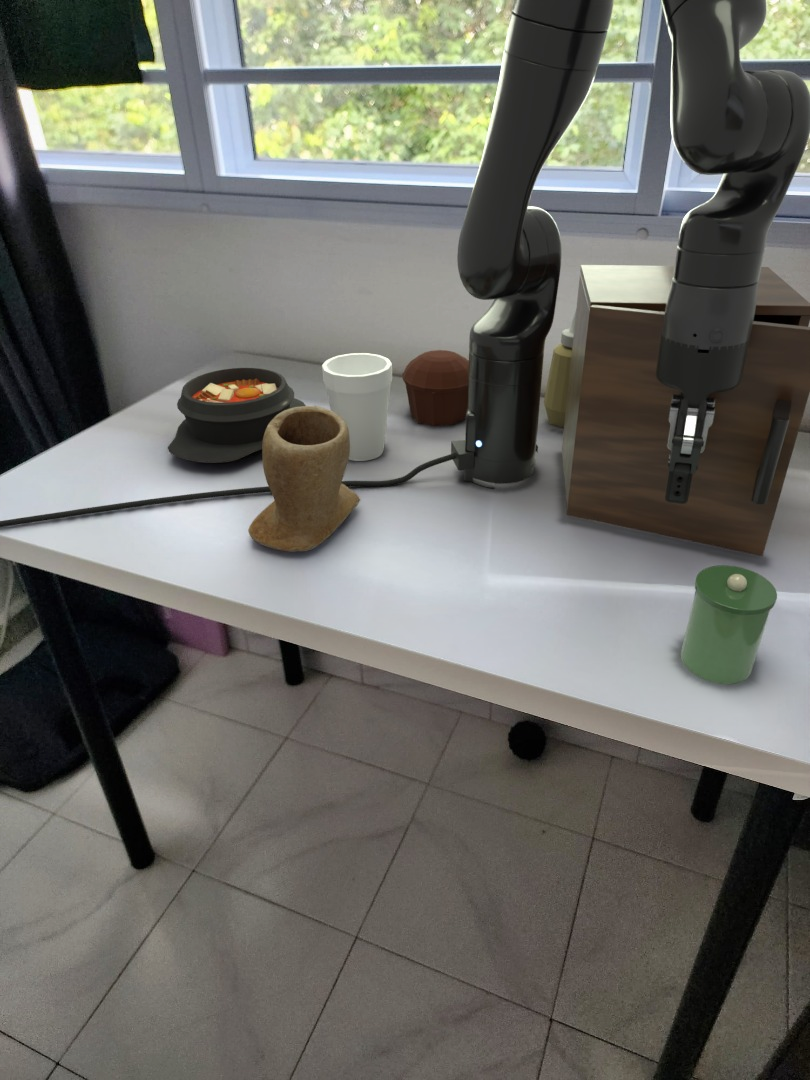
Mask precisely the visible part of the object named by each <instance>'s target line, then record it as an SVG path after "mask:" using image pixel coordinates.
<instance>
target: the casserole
mask: <svg viewBox="0 0 810 1080" xmlns="http://www.w3.org/2000/svg"><path fill="white" fill-rule="evenodd" d="M176 406H177V410H178V411H179V412H180V413H181V414H182V415H183V416H184V418H185V419H184V420H182V422H181V423H180V424H179V425H178V427H177V430H176V433H175V437H174V438H173V439H172V441H171V442H170V444H169V445H168V446H167V451H168V453H169V454H171V455H172V456H174V457H177V458H179V459H182V460H185V461H186V460H187V461H190V462H197V463H206V464H207V463H209V464H210V463H211V464H222V463H231V462H236V461H238V460H240V459H243V458H245V457H247V456H249V455H251V454H253V453H256V452H258V451H262V444H263V437H264V433H265V430H266V428H267V426H268V424H269V423H270V422H271V420H272V419H273V418H274V417H275V416H276V415H278V414H279V413H281V412H283V411H284V410H287V409H290V408H294V407H301V406H307V405H306V404H305V403H304V402H303V401H302V400H300V399H298V398H295V391H294V390H293V388H292V387H290V385H289V384H288V382H287V380H286V378H285V377H284V376H283V375H282V374H280V373H279V372H277V371H273V370H271V369H265V368H259V367H232V368H224V369H218V370H213V371H209V372H206V373H203V374H200V375H197V376H196V377H194V378H191V379H190V380H188V381H187V382H186V383H185V384H184V385H183V386H182V389H181V392H180V397H179V398H178V400H177V402H176Z"/></svg>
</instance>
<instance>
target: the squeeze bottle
mask: <svg viewBox="0 0 810 1080" xmlns="http://www.w3.org/2000/svg"><path fill="white" fill-rule="evenodd" d="M575 317H576V310H575V311H574V315H573V318H572V321H571V324H570V326H569V328H566V329H563V330H562V331H561V337H560V343H559V344H558V345H556V346H555V347H554V349H553V351H552V356H551V362H550V367H549V371H548V377H547V382H546V387H545V392H544V393H545V394H544V397H543V405H544V408H545V412H546V416H547V420H548V424H549V425H554V426H557V427H559V428H564V423H565V413H566V404H567V394H568V385H569V375H570V365H571V356H572V346H573V336H574V327H575Z"/></svg>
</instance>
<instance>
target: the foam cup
mask: <svg viewBox="0 0 810 1080" xmlns="http://www.w3.org/2000/svg"><path fill="white" fill-rule="evenodd" d="M321 369H322V382H323V385H324V387H325V389H326V390H325V391H326V394H327V398H328V403H329V409H330V410H331V411H333V412H335V413H336V414H337V415H339V416H340V417H341V418H342V419H343V420H344V421H345V422H346V424H347V427H348V429H349V437H350V455H349V460H350V461H353V462H354V461H355V462H366V461H371V460H375V459H377V458H379V457H381V456H382V454H383V453H384V452H385V451H384V447H385V444H386V443H385V442H386V433H387V422H388V414H389V403H390V395H391V394H390V393H391V384H392V382H393V363H392V362H391V360H390V358H387V357H385V356H383V355H381V354H377V353H376V354H375V353H368V352H355V353H354V352H351V353H346V354H340V355H336V356H333V357H330V358H328V359H326V360H325V361H324V362H323V364H322V365H321ZM349 460H348V461H349Z"/></svg>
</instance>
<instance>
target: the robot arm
mask: <svg viewBox="0 0 810 1080" xmlns="http://www.w3.org/2000/svg"><path fill="white" fill-rule="evenodd" d="M660 3H661V7H662V10H663V15H664V20H665V24H666V28H667V32H668V35H669V38H670V43H671V63H670V64H671V65H670V108H669V109H670V114H669V115H670V119H669V120H670V132H671V133H670V134H671V138H672V142H673V145H674V147H675V150H676V152H677V154H678V156H679V157H680V159H681V160H682V162H683V163H684V164H685V166H687V167H688V168H689V169H690V170H691V171H692V172H695V173H697V174H700V175H705V176H715V175H716V176H717V175H722V177H721V180H720V182H719V184H718V186H717V189H716V190H715V192H714V194H713V196H712V197H711V198H710V199H708V200H707V201H705V202H704V203H701V204H699V205H697V206H695V207H694V208H692V209H691V210H688V212H687V213H686V214H685V216H684V217H683V219H682V222H681V225H680V229H679V234H678V240H677V246H676V254H675V261H674V266H675V267H674V274H673V279H672V284H671V288H670V291H669V295H668V298H667V302H666V307H665V314H664V321H663V328H662V335H661V342H660V348H659V355H658V362H657V369H656V376H657V379H658V380H659V381H660V382H661V383H662V384H664V385H666V386H668V387H670V388H676V389H678V390H680V391H681V392H682V393H681V395H679V394H673V396H672V402H671V408H670V414H669V422H670V424H671V425H670V431H669V437H668V444H667V447H668V449H669V450H671V454H669V459H670V461H668V467H669V476H668V482H667V488H666V494H665V500H666V501H667V502H671V503H679V504H685V503H687V501H688V497H689V491H690V486H691V481H692V475H693V474H695V472H696V471H697V469H698V465H697V464H698V460H699V456H700V453H702V452H703V451H704V449H705V444H706V439H707V434H708V429H709V427H710V426H711V425H712V423H713V418H714V413H715V407H714V405H715V399H716V398H713V397H708V396H709V395H710V394H712V393H715V392H725V391H729V390H731V389H733V388H735V387H736V386H738V385H739V383H740V382H741V378H742V373H743V369H744V364H745V359H746V354H747V349H748V345H749V340H750V335H751V330H752V325H753V320H754V316H755V310H756V301H757V287H758V280H759V276H760V271H761V267H763V261H764V255H765V252H766V246H767V239H768V234H769V231H770V228H771V226H772V224H773V222H774V220H775V217H776V216H777V214H778V212H779V210H780V208H781V206H782V204H783V202H784V199H785V197H786V195H787V193H788V191H789V188H790V186H791V183H792V181H793V179H794V177H795V174H796V172H797V170H798V169H799V168H798V167H799V165H800V163H801V161H802V158H803V156H804V154H805V153H804V152H806V151H805V150H806V147H807V145H808V142H809V141H808V140H809V138H810V91H809V88H808V85H807V84H806V82H805V81H804V80H803V79H802V77H801V76H799V75H798V74H796V73H795V72H793V71H790V70H785V69H766V70H765V69H763V70H744V68H743V65H742V61H741V56H740V55H741V54H740V53H741V52H740V50H741V49H743V48H744V47H745V46H747V45H748V44H750V43H751V41H752V40H753V39H754V38H756V36H757V35H758V34H759V32H760V31H761V29H762V27H763V26H764V24H765V21H766V18H767V0H660ZM613 8H614V0H513V3H512V7H511V10H512V11H511V14H510V18H509V24H508V28H507V33H506V34H507V35H506V38H505V44H504V49H503V54H502V61H501V66H500V73H499V79H498V84H497V89H496V94H495V97H494V102H493V108H492V112H491V115H490V116H491V117H490V122H489V125H488V130H487V134H486V140H485V143H484V148H483V153H482V156H481V159H480V164H479V168H478V171H477V173H476V177H475V182H474V184H473V188H472V192H471V193H470V194H471V195H470V198H469V201H468V205H467V208H466V210H465V215H464V219H463V223H462V226H461V229H460V233H459V238H458V244H457V256H456V257H457V259H456V262H457V270H458V274H459V278H460V281H461V284H462V286H463V287H464V289H465V290H466V292H467V293H468V294H469V295H471V296H472V297H473V298H475V299H477V300H483V301H492V300H493V301H492V303H491V304H490V306H489V307H488V309H487V310H486V311H485V312H484V313H483V314H482V315H481V316H480V317H479V318H477V320H476V321H475V322H474V323H473V324H472V325H471V328H470V330H469V335H468V336H469V338H468V341H469V342H468V360H469V373H468V407H467V413H466V416H465V434H464V435H465V439H459V440H451V441H450V442H451V443H450V454H446V455H444V456H441V457H437V458H435V459H432V460H429V461H427V462H424V463H422V464H420V465H418V466H416V467H415V468H413V469H412V470H411V471H409V472H408V473H406V474H405V475H403V476H401V477H397V478H393V479H387V480H342V483H341V484H344V485H346V486H347V487H348V488H349V487H360V488H361V487H363V488H365V487H367V488H380V487H391V486H396V485H399V484H403V483H407V482H408V481H410V480H412V479H413V478H414V477H415V476H417V475H418V474H419V473H421V472H423V471H424V470H427V469H429V468H432V467H435V466H437V465H440V464H444V463H446V462H449V461H453V463H454V465H455V468H456V469H457V470H458V471H464V473H463V474H464V478H463V479H464V482H467V483H474V484H476V485H478V486H480V487H485V488H489V489H495V487H496V484H501V485H502V484H503V485H504V484H513V483H518V482H522V481H524V480H526V479H527V480H528V478H530V477H531V476H532V475H533V474H534V473H535V466H536V454H538V452H539V446H538V444H537V441H538V431H539V430H538V429H539V417H540V405H541V394H542V393H541V391H542V381H543V380H542V379H543V371H544V370H543V369H544V359H545V358H544V355H545V345H546V340H547V338H548V335H549V333H550V331H551V329H552V327H553V323H554V319H555V314H556V313H555V312H556V306H557V299H558V291H559V284H560V278H561V277H560V276H561V267H562V255H563V254H562V238H561V234H560V231H559V228H558V225H557V223H556V221H555V220H554V218H553V217H552V215H551V214H550V213H549V212H547V211H546V210H545V209H543V208H541V207H539V206H538V207H537V206H529V204H530V200H531V196H532V194H533V191H534V188H535V185H536V182H537V179H538V178H539V175H540V173H541V171H542V169H543V167H544V166H545V163H546V162H547V160H548V158H549V157H550V156H551V154H552V153H553V152H554V150H555V148H556V146H557V145H558V143H559V142H560V141H561V139H562V138H563V136H564V134H565V133H566V131H567V130H568V128H569V127H570V126H571V124H572V122H573V121H574V119H575V117H576V116H577V114H578V113H579V111H580V110H581V108H582V106H583V104H584V103H585V101H586V99H587V97H588V95H589V93H590V92H591V88H592V86H593V83H594V81H595V78H596V75H597V71H598V68H599V64H600V60H601V57H602V53H603V50H604V46H605V42H606V39H607V36H608V31H609V27H610V24H611V20H612V14H613ZM262 493H263V494H264V493H272V492H271V490H270V488H269V486H268V485H266V486H257V487H256V486H255V487H245V488H236V489H224V490H216V491H215V490H213V491H205V492H198V493H189V494H180V495H171V496H165V497H164V496H163V497H155V498H149V499H140V500H134V501H126V502H119V503H113V504H106V505H98V506H92V507H83V508H78V509H72V510H71V509H70V510H64V511H58V512H52V513H45V514H39V515H38V514H37V515H31V516H24V517H18V518H11V519H4V520H0V528H5V527H11V526H19V525H24V524H31V523H38V522H43V521H44V522H45V521H51V520H57V519H58V520H59V519H65V518H71V517H78V516H84V515H92V514H97V513H105V512H111V511H120V510H125V509H126V510H127V509H133V508H139V507H146V506H155V505H161V504H162V505H163V504H170V503H177V502H187V501H195V500H203V499H210V498H211V499H212V498H213V499H214V498H221V497H230V496H232V497H233V496H240V495H241V496H242V495H253V494H262Z"/></svg>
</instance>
